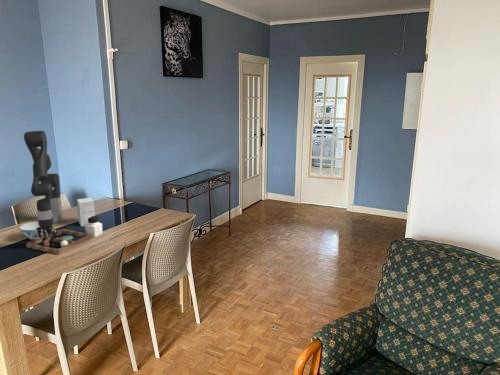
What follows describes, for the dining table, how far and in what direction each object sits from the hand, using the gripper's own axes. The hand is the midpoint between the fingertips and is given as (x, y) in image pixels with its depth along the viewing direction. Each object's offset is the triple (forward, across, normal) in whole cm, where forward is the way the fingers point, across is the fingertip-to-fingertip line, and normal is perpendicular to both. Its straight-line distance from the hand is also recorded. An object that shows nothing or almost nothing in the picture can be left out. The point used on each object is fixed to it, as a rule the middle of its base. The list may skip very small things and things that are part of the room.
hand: (48, 245), depth 218 cm
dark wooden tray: (0, +2, +6) cm, 7 cm away
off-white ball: (0, +10, +2) cm, 10 cm away
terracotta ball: (+1, 0, 0) cm, 1 cm away
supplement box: (+1, -8, +38) cm, 39 cm away
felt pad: (0, 0, +13) cm, 13 cm away
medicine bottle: (+1, +11, +24) cm, 27 cm away
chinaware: (+1, -18, +6) cm, 19 cm away
